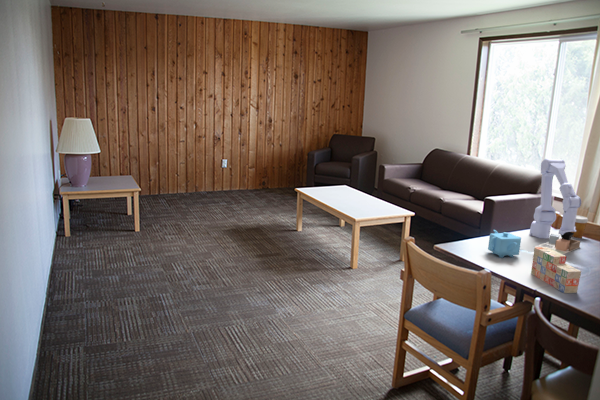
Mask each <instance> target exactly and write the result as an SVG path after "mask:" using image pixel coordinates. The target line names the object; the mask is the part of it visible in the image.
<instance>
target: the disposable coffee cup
mask: <svg viewBox="0 0 600 400" xmlns="http://www.w3.org/2000/svg"><path fill="white" fill-rule="evenodd" d="M588 222H589V219H588V217H586V216H582V215H578V214H577V215H576V221H575V227H576V228H575V230H576V232H572V233H574V235H573V236H572V237H571V238H578V239H582V238H583V235H584V232H585V229H586V226H587V223H588Z"/></svg>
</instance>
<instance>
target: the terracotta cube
mask: <svg viewBox="0 0 600 400" xmlns="http://www.w3.org/2000/svg"><path fill="white" fill-rule="evenodd" d="M569 243H570V241H569V240H565V239H562V237H561V238H560V237H559V239H558V240H556V248H555V249H558V250H562V251H566V250H568V249H569Z"/></svg>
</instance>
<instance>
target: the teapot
mask: <svg viewBox="0 0 600 400" xmlns="http://www.w3.org/2000/svg"><path fill="white" fill-rule="evenodd" d="M521 240H522V237H520V236H517V235H514V234H512V233H511V232H505V231H504V232H498V231H497V230H496V229H493V233H490V234H489V240H488V247H487V251H490V252H492V253H491V254H494V255H497V256H498V258H500V259H503V258H504V257H505V256H508V257H509V258H514V257H515V256H519V255H520V249H521V243H522V241H521Z"/></svg>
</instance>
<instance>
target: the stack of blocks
mask: <svg viewBox="0 0 600 400" xmlns="http://www.w3.org/2000/svg"><path fill="white" fill-rule="evenodd" d="M550 248H551V247H549V246H544V247H535V246H534V249H533V254H532V262H531V263H532V264H531V271H530V272H531V273H530V274H531V275H533V276H534V277H536V278H537V279H539V280H541V281H543V282H545V283H546V284H548V285H550V286H551V287H553V288H555V289H556V290H558V291H560V292H562V293H563V294H573V293H578V289H579V286H580V279H581V275H582V271H581V270H580V269H578V268H576V267H574V266H572V265H570V264H568V263H566V261H567V256H566V255H565V254H561V253H558V252H556V251H554V250H552V249H550Z"/></svg>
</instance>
